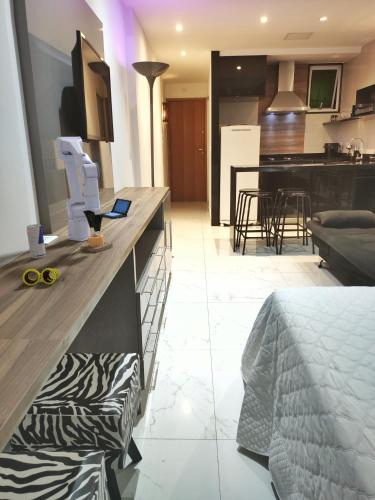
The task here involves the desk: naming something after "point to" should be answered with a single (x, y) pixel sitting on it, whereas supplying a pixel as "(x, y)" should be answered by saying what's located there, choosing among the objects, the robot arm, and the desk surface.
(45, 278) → the opera glasses
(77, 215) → the robot arm
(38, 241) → the energy drink
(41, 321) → the desk surface
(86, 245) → the post stand
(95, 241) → the ring
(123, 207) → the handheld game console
